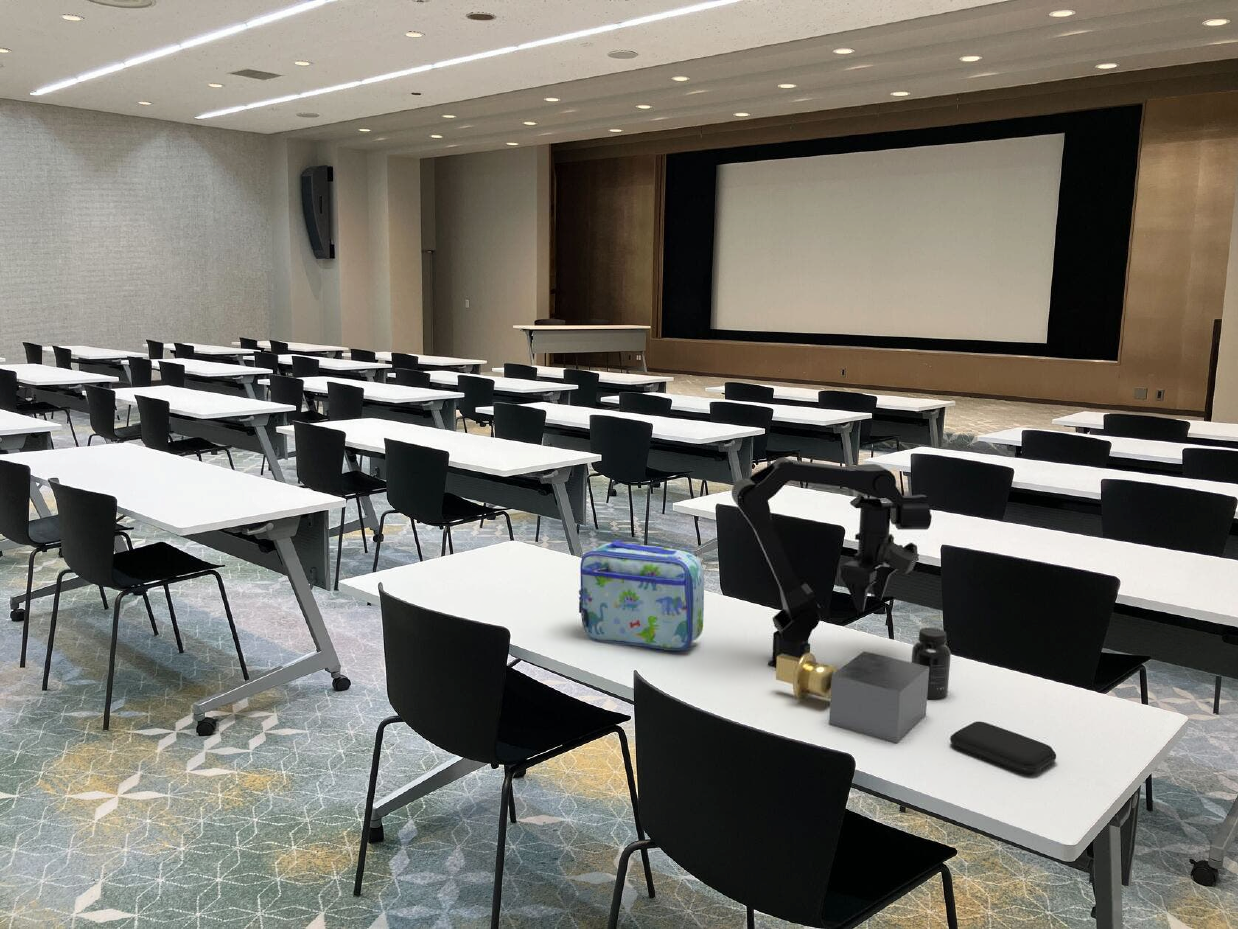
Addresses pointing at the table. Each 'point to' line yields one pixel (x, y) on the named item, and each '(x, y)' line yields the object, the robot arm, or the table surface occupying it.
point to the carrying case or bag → (1003, 748)
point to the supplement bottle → (933, 660)
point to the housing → (879, 696)
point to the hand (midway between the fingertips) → (869, 606)
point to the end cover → (805, 675)
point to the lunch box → (642, 596)
